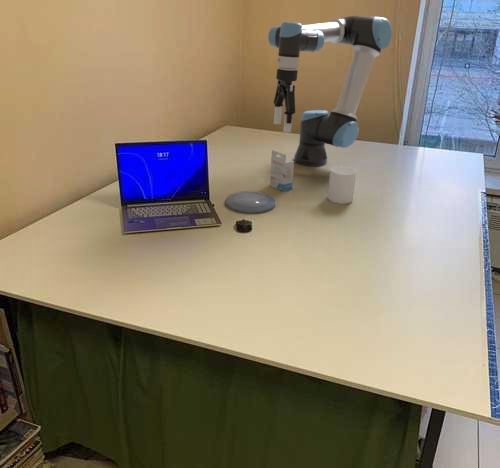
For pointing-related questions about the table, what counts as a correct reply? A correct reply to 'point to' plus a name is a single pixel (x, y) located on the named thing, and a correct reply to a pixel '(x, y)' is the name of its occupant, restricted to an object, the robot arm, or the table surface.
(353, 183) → the mug
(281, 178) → the ink box
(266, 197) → the dish
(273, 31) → the robot arm
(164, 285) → the table surface
